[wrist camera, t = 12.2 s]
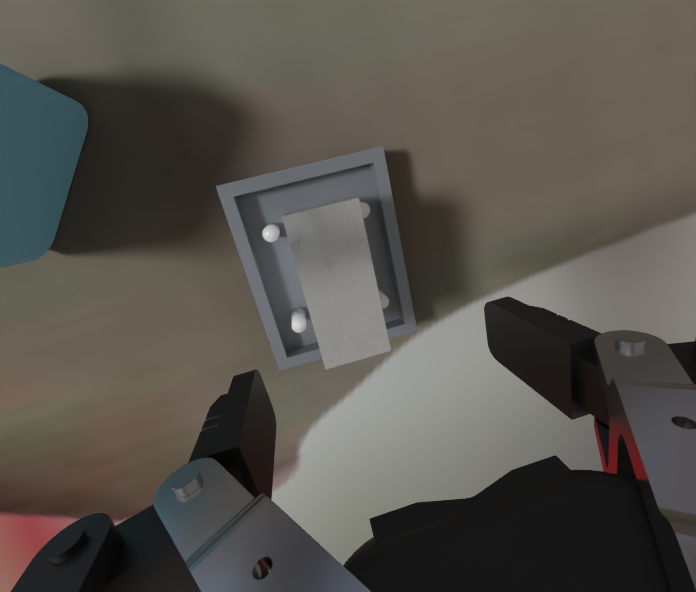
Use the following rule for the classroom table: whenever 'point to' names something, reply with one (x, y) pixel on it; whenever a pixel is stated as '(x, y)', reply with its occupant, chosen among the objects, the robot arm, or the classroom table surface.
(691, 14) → the classroom table surface
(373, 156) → the tray
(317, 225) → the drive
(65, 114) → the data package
